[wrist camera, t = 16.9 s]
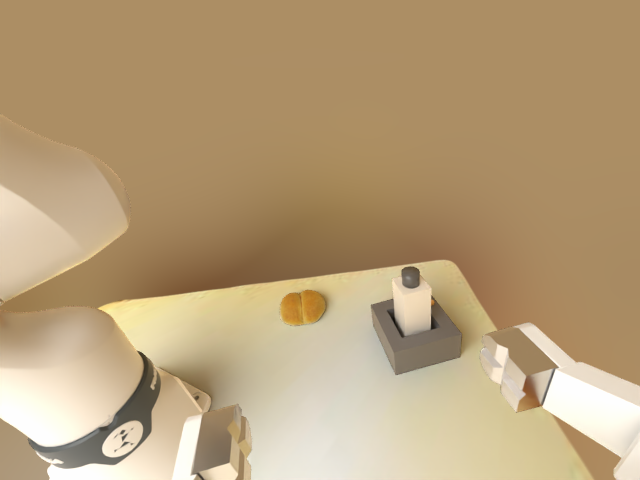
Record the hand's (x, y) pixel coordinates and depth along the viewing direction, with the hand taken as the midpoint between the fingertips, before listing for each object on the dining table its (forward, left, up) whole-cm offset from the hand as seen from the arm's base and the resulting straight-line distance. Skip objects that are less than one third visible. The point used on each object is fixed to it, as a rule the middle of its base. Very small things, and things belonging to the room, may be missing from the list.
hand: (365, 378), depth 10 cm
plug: (-11, +26, -31) cm, 42 cm away
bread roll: (-32, +22, -32) cm, 50 cm away
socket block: (-11, +26, -32) cm, 43 cm away
